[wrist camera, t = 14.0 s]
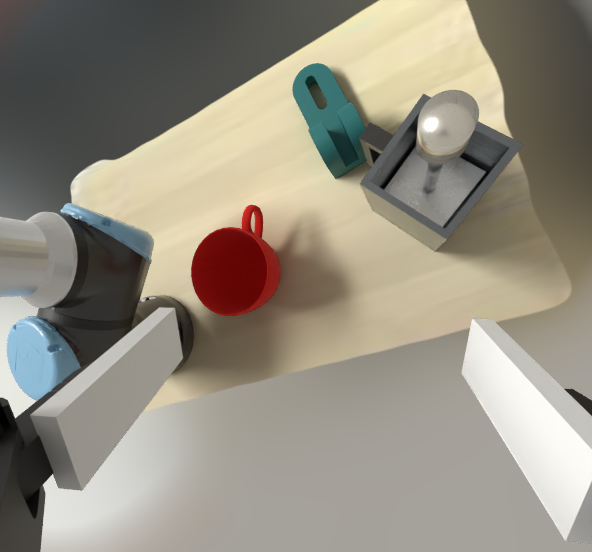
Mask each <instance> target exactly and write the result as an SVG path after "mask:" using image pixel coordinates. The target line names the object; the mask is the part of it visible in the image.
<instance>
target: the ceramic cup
mask: <svg viewBox="0 0 592 552" xmlns="http://www.w3.org/2000/svg"><path fill="white" fill-rule="evenodd" d="M253 211H254V215H255V233H254V232H253V231H252V229H251V216H252V213H253ZM262 231H263V216H262V212H261V210H260V208H259V207H257V206H255V205H249V206H247V207H246V209H245V210H244V213H243V217H242V229H240V228H234V227H228V228H222V229H218V230H216V231H214V232H212V233H210V234H209V235H208V236H207V237H206V238H205V239H204V240H203V241H202V242H201V243H200V245H199V246H198V248H197V250H196V252H195V255H194V257H193V261H192V267H191V277H192V283H193V287H194V289H195V292H196V294H197V296H198V298H199V299H200V301H201V302H202V303H203V304H204V305H205V306H206V307H207V308H208V309H210V310H211V311H213V312H215V313H217V314H220V315H224V316H236V315H242V314H245V313H248V312H250V311H253V310H255V309H257V308H259V307H261V306H262V305H263V304H265V303H266V302H267V301H268V300H269V299H270V298H271V297H272V296H273V294H274V292H275V291H276V289H277V287H278V284H279V280H280V265H279V261H278V258H277V256H276V254H275V252H274V251H273V249H272V248H271V247H270V246H269V245H268V244H267V243H266V242H265V241H264V240H263V239H262Z"/></svg>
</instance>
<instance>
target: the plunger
mask: <svg viewBox="0 0 592 552" xmlns="http://www.w3.org/2000/svg"><path fill="white" fill-rule="evenodd" d="M478 118H479V109H478V105H477V103H476V101H475V100H474V98H473V97H472V96H470V95H469V94H467V93H465V92H463V91H459V90H448V91H444V92H441V93H439V94H437V95H435V96H433V97H432V98H431V99H429V100H428V101H427V102H426V104H425V105H424V106H423V108H422V109H421V112H420V114H419V118H418V129H417V141H416V147H415V148H414V149H413V151H412V152H411V154H410V155H409V156H408V158H407V159H406V160H405V162H404V163H403V165H402V166H401V167H400V169H399V170H398V171H397V173H396V174H395V176H394V177H393V178H392V180H391V181H390V182H389V184H388V185H387V187H386V188H385V189H384V191H386V192H388V193H389V194H391V195H392V196H394V197H396V198H397V199H399V200H400V201H402V202H404V203H405V204H407V205H408V206H410V207H411V208H413V209H415V210H416V211H418V212H419V213H421V214H423V215H424V216H426V217H427V218H429V219H430V220H432V221H434V222H435V223H437V224H438V225H440V226H442V227H443V226H444V224H445V223H446V222H447V221H448V219H449V218H450V217H451V216H452V214H453V213H454V212H455V211H456V209H457V208H458V207H459V206H460V204H461V203H462V202H463V201H464V199H465V198H466V197H467V195H468V194H469V193H470V192H471V190H472V189H473V188H474V187H475V185H476V184H477V183H478V182H479V180H480V179H481V178H482V177H483V175H484V174H485V173H486V172H485V171H484V170H482V169H480V168H478V167H476V166H475V165H473V164H471V163H469V162H467V161H465V160H464V159H462V158H460V157H459V156H460V155H461V154H462V153H463V152H464V150H465V148H466V146H467V144H468V142H469V140H470V137H471V135H472V133H473V131H474V129H475V127H476V124H477V122H478Z"/></svg>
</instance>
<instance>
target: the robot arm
mask: <svg viewBox="0 0 592 552" xmlns="http://www.w3.org/2000/svg"><path fill="white" fill-rule="evenodd" d="M153 246H154V241H153V238H152V236H151V235H150V234H149V233H148V232H146V231H144V230H141V229H139V228H136V227H133V226H131V225H128V224H126V223H123V222H120V221H118V220H115V219H112V218H110V217H107V216H104V215H102V214H99V213H96V212H94V211H91V210H88V209H85V208H83V207H80V206H77V205H73V204H71V203H68V204H66V205H65V206H64V208H63V209H62V210H61V214H57V213H52V212H41V213H38V214H36V215H34V216H32V217H31V218H30V219H28V220H27V221H21V220H15V219H9V218H2V217H0V297H8V296H9V297H10V296H21V297H23V298H24V299H25V300H26V301H27V302H28V303H30V304H31V305H33V306H35V307H38V308H39V310H38V314H37V316H36V317H35V316H29V317H26V318H25V319H22V320H19V321H18V322H17V323H16V324H15V325H14V326H13V327H12V328H11V330H10V332H9V335H8V340H7V357H8V362H9V366H10V369H11V372H12V374H13V376H14V378H15V380H16V382H17V383H18V385H19V387H20V388H21V389H22V390H23V391H24V392H25V393H26V394H27V395H28V396H29V397H31V398H32V399H34V400H36V401H37V402H35V403H34V404H33V405H32V406H30V407H29V408H28V409H27V410H25V411H24V412H23V413H22V414H21V415H19V416H18V417H17V418H15V417H14V415H13V412H12V410H11V407H10V405H9V403H8V400H6V399H4V398H0V552H40V549H41V536H42V526H43V514H44V504H45V491H44V487H43V484H44V483H45V482H46V481H47V479H48V478H49V477H50V476H51V475H52V474H53V475H54V478H55V481H56V483H57V486H58V488H63V489H73V490H83V489H84V487H85V486H86V485H87V483H88V482H89V481H90V479H91V478H92V477H93V476H94V474H95V473H96V471H97V470H98V469H99V467H100V466H101V465H102V464H103V463H104V461H105V460H106V458H107V457H108V456H109V455H110V453H111V452H112V451H113V449H114V448H115V447H116V445H117V444H118V443H119V442H120V440H121V439H122V438H123V436H124V435H125V434H126V432H127V431H128V430H129V428H130V427H131V426H132V425H133V423H134V422H135V420H136V419H137V418H138V417H139V415H140V414H141V413H142V411H143V410H144V409H145V408H146V406H147V405H148V404H149V402H150V401H151V400H152V398H153V397H154V396H155V394H156V393H157V392H158V391H159V389H160V388H161V387H162V385H163V384H164V383H165V381H166V380H167V379H168V377H169V376H170V375H171V374H172V372H173V371H174V370H176V369H178V368H179V367H181V366H182V365H183V364H184V362H185V361H186V360H187V358H188V356H189V354H190V352H191V349H192V345H193V328H192V323H191V320H190V317H189V315H188V313H187V312H186V310H185V309H184V307H183V306H182V305H181V304H180V303H179V302H178V301H176V300H175V299H173V298H171V297H168V296H149V297H145V298H143V299H141V300H140V296H141V293H142V289H143V286H144V283H145V279H146V276H147V273H148V269H149V266H150V264H151V261H152V260H151V255H152V251H153ZM462 375H463V376H464V378H465V380H466V381H467V383H468V384H469V386H470V388H471V389H472V391H473V392H474V394H475V396H476V397H477V399H478V401H479V402H480V404H481V405H482V407H483V409H484V410H485V412H486V413H487V415H488V416H489V418H490V420H491V422H492V423H493V425H494V426H495V428H496V429H497V431H498V433H499V434H500V436H501V437H502V439H503V441H504V442H505V444H506V446H507V447H508V449H509V451H510V452H511V454H512V455H513V457H514V459H515V460H516V462H517V463H518V465H519V467H520V468H521V470H522V472H523V473H524V475H525V476H526V478H527V480H528V481H529V483H530V484H531V486H532V488H533V489H534V491H535V492H536V494H537V496H538V497H539V499H540V501H541V502H542V504H543V505H544V507H545V508H546V510H547V512H548V514H549V515H550V517H551V518H552V520H553V521H554V523H555V525H556V526H557V528H558V530H559V531H560V533H561V535H562V536H563V538H564V539H565V541H568V542H578V543H587V544H592V400H590V399H588V398H587V397H585V396H583V395H582V394H580V393H578V392H577V391H575V390H573V389H563V388H562V387H561V386H560V385H559V384H558V383H557V382H556V381H555V380H554V379H553V378H552V377H551V376H550V375H549V374H548V373H547V372H546V371H545V370H544V369H543V368H541V366H539V364H537V362H536V361H534V360H533V359H532V358H531V357H530V356H529V355H528V354H527V353H526V352H525V351H524V350H523V349H522V348H521V347H520V346H519V345H518V344H517V343H516V342H515V341H514V340H513V339H512V338H511V337H510V336H509V335H508V334H507V333H506V332H505V331H504V330H503V329H501V327H499V326H498V325H497V324H496V323H495V322H494V321H493V320H492V319H478V318H472V323H471V328H470V333H469V338H468V343H467V348H466V353H465V358H464V363H463V368H462Z"/></svg>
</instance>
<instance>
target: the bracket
mask: <svg viewBox="0 0 592 552" xmlns="http://www.w3.org/2000/svg"><path fill="white" fill-rule="evenodd" d="M313 83H316V84H318V85H319V87H320V89H321V91H322V93H323V95H324V97H325V99H326V101H327V106H326V108H324V109H318V107H317V105H316V103H315V101H314V99H313V97H312V95H311V93H310V91H309V87H310V86H311V85H312V84H313ZM293 95H294V98H295V100H296V102H297V104H298V106H299V108H300V110H301V112H302V114H303V116H304V118H305V120H306V122H307V124H308V126H309V128H310V129H309V133H310V135H311V137H312V139H313V141H314V143H315V145H316V147H317V149H318V151H319V153H320V155H321V157H322V159H323V160H324V162H325V164H326V166H327V167H328V169H329V170H330V172H331V173H332V175H333V176H334V177H335V179H336V178H338V177H340V176H342V175H343V174H345V173H347V172H348V171H350V170H352V169H353V168H355V167H357V166H358V165H360V164H362V163H364V162H365V161H367V160H366V157H365V154H364V151H363V148H362V145H361V142H360V139H359V138H360V136H361V135H362V133H363V132H364V131H365V127H364V125H363V122H362V120H361V118H360V116H359V114H358V112H357V111H356V109H355V107H354V105H353V104H352V103H351V102H349V103H348V102H347V100H346V98H345V96H344V95H343V93H342V91H341V89H340V87H339V85H338V83H337V81H336V79H335V77H334V76H333V74H332V72H331V70H330V69H329V68H328V67H327V66H325V65H323V64H319V63H316V64H311V65H308V66H306V67H305V68H303V69H302V70H301V71H300V72H299V73H298V75H297V76H296V78H295V80H294V83H293Z"/></svg>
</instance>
